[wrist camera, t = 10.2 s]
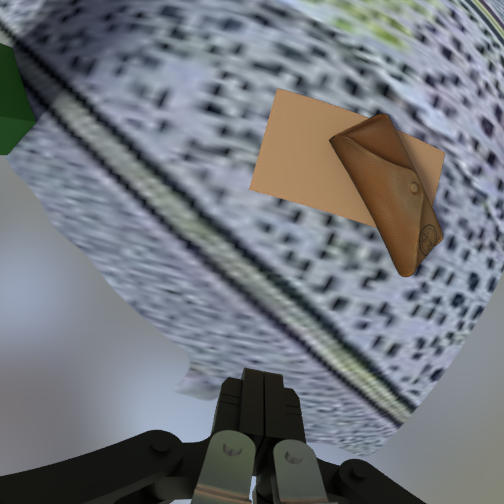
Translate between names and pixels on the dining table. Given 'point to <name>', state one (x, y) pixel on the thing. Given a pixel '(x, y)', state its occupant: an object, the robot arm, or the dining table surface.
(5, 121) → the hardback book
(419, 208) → the sunglasses case
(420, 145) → the mat
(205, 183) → the dining table surface
